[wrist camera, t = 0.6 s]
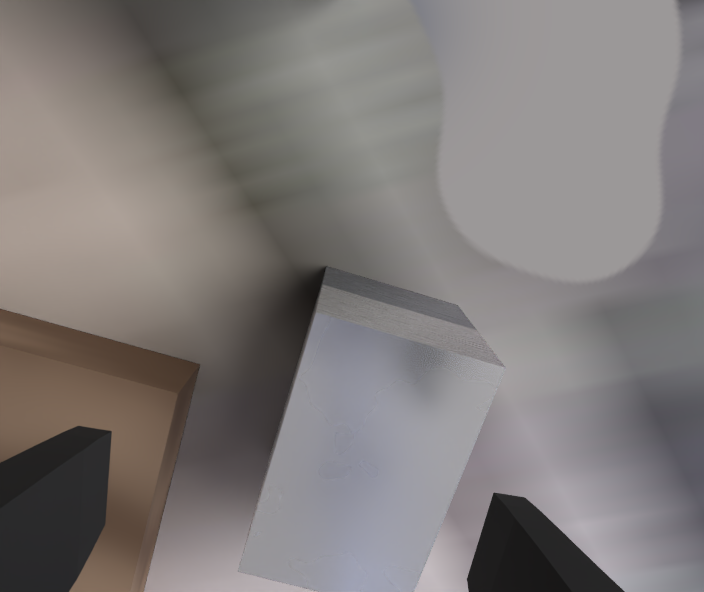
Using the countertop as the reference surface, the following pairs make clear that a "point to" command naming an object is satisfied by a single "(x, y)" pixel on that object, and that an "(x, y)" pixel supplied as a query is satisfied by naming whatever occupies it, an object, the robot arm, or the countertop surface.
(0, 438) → the stand
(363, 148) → the countertop surface
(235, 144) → the countertop surface
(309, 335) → the block
